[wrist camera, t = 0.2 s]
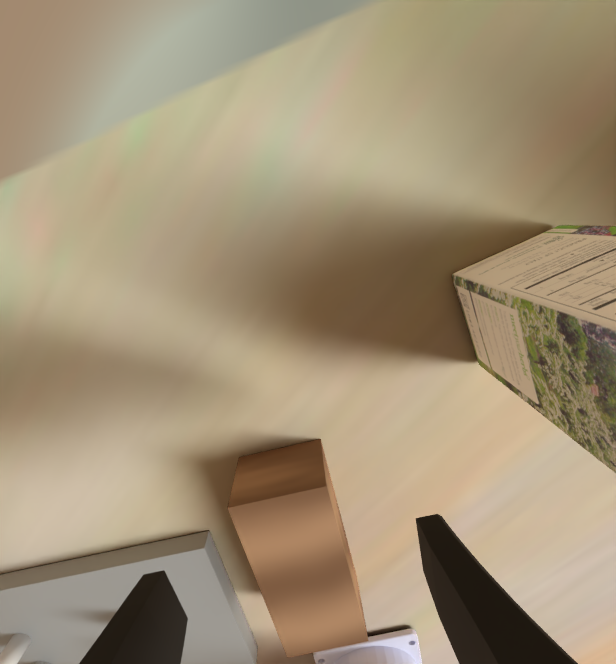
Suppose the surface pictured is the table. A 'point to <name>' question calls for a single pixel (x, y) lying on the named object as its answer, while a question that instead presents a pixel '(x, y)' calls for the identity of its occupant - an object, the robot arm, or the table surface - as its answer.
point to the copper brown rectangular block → (298, 547)
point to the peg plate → (108, 595)
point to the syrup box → (551, 328)
